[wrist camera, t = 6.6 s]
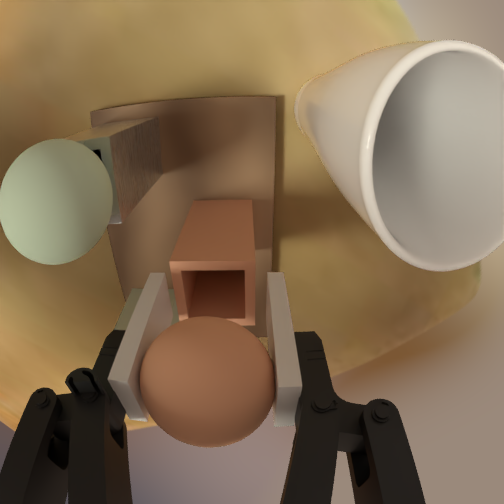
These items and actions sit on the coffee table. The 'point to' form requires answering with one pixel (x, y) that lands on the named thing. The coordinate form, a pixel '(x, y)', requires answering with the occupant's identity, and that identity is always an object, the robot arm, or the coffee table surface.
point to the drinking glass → (416, 147)
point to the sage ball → (55, 201)
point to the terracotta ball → (207, 381)
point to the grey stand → (126, 159)
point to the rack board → (199, 182)
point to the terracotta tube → (216, 262)
